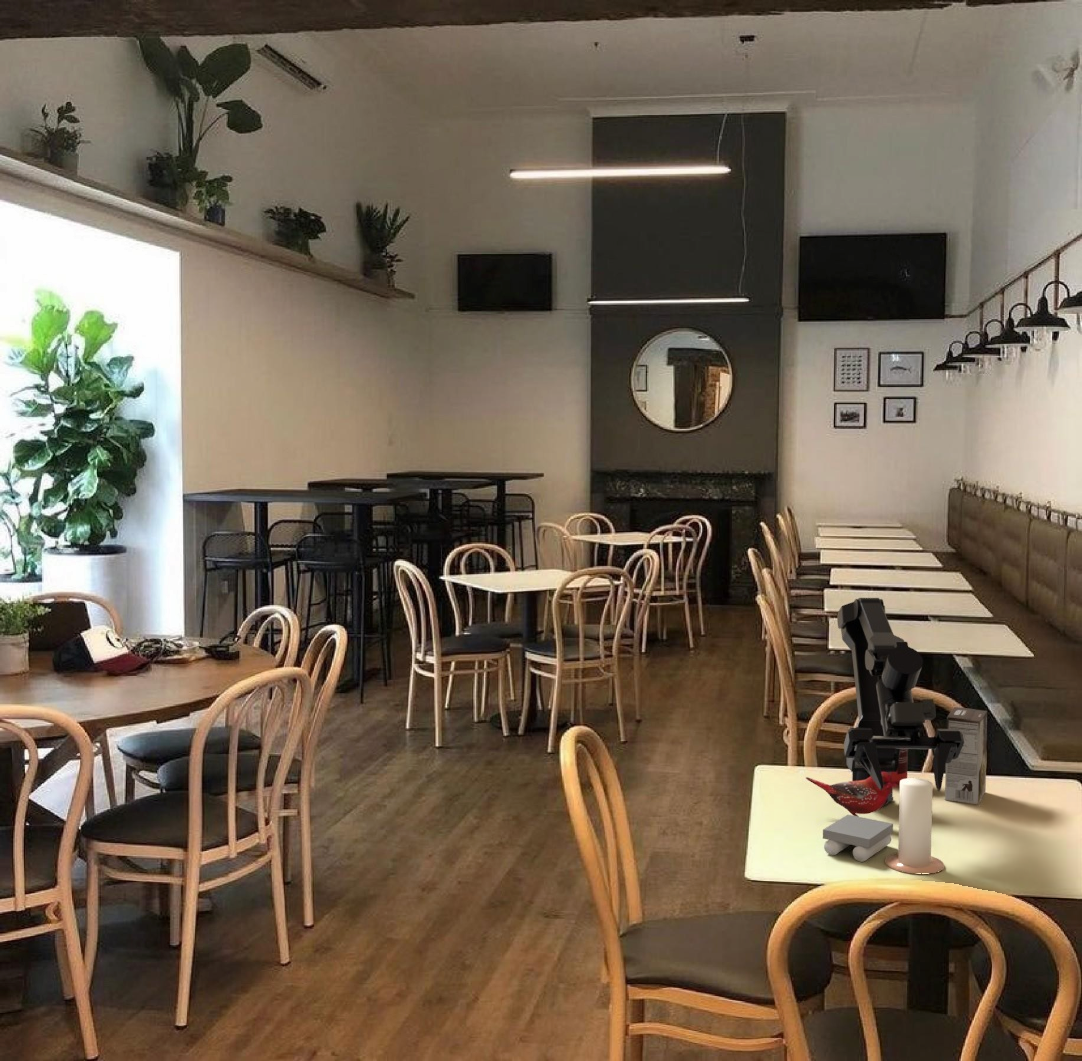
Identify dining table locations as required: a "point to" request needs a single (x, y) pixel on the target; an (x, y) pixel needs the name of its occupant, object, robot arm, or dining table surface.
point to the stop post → (915, 822)
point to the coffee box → (967, 757)
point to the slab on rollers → (857, 836)
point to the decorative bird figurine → (859, 793)
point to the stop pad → (932, 868)
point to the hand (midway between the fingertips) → (910, 789)
